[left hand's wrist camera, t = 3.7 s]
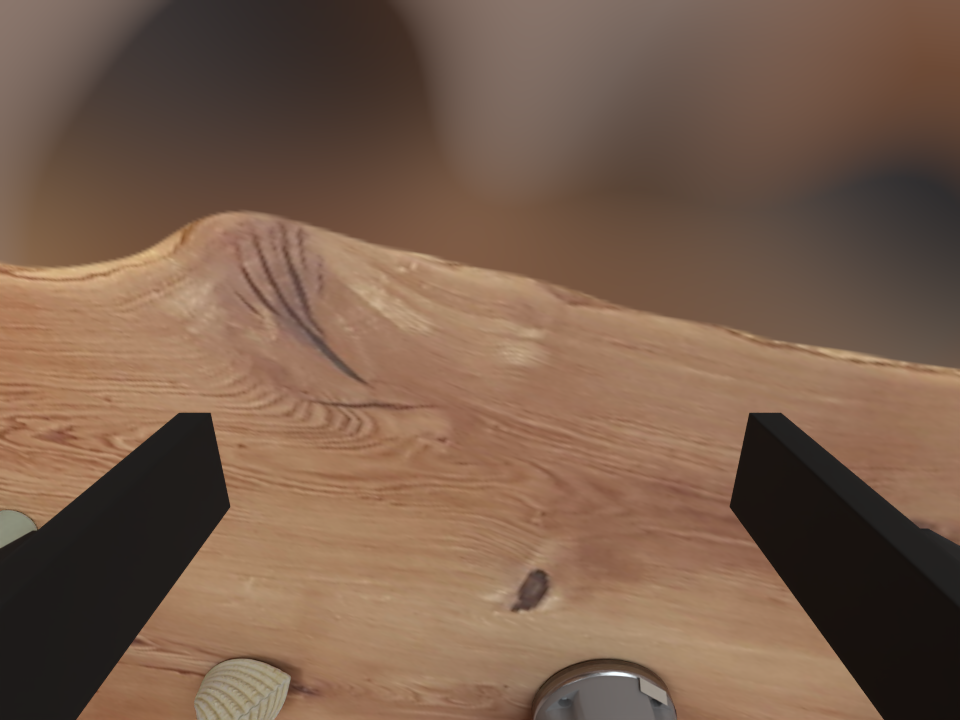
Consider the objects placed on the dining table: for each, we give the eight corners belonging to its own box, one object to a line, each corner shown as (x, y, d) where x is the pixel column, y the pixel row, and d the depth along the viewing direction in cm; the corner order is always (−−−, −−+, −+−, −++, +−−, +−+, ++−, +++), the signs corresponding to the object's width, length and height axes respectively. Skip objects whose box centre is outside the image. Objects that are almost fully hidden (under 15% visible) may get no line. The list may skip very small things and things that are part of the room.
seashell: (167, 688, 52) (195, 698, 47) (248, 637, 58) (279, 641, 53) (194, 766, 52) (224, 785, 46) (272, 706, 58) (306, 716, 53)
